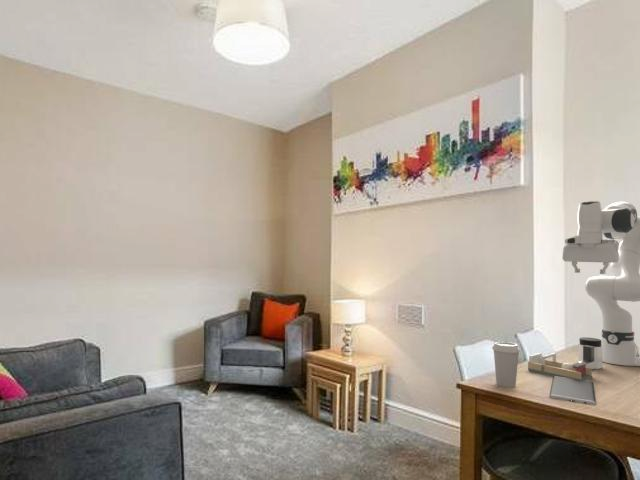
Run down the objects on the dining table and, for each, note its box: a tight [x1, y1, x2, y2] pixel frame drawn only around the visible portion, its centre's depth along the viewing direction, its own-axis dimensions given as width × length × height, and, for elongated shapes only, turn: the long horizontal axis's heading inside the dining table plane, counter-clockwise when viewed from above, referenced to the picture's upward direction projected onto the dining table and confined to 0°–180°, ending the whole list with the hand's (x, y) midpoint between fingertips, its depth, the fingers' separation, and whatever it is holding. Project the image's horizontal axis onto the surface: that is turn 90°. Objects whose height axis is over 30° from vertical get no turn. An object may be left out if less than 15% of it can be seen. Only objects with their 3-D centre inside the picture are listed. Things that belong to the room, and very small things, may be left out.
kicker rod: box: [571, 345, 594, 376], centre depth 173 cm, size 15×3×10 cm, turn 128°
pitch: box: [527, 352, 593, 381], centre depth 178 cm, size 11×20×7 cm, turn 38°
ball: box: [561, 362, 573, 370], centre depth 175 cm, size 4×4×4 cm
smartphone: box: [549, 376, 597, 406], centre depth 156 cm, size 13×27×2 cm, turn 149°
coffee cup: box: [491, 341, 521, 388], centre depth 161 cm, size 10×10×15 cm
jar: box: [577, 336, 604, 370], centre depth 190 cm, size 9×8×12 cm
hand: (589, 273), depth 180 cm, fingers open, 8 cm apart
